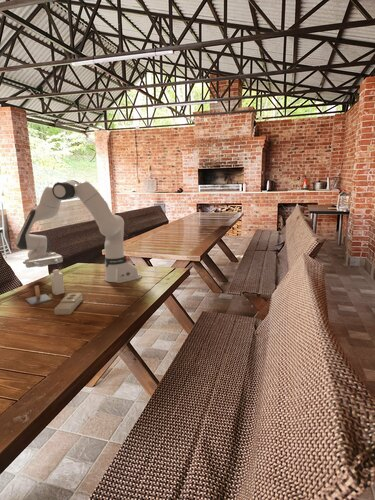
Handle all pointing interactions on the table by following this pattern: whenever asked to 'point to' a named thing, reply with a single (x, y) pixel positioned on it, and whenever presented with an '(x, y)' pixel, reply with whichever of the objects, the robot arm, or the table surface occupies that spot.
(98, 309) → the table surface
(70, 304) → the electrical outlet
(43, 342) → the table surface
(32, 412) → the table surface
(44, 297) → the peg stand
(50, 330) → the table surface
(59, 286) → the tapered lotion bottle
